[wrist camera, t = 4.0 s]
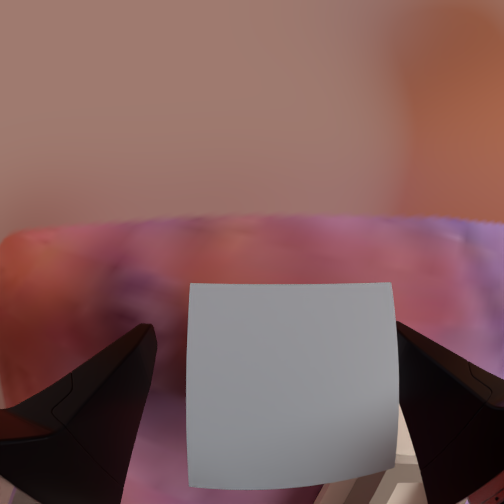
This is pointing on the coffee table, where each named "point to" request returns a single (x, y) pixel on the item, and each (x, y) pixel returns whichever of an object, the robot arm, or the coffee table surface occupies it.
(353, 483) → the well
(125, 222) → the coffee table surface
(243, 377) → the post
